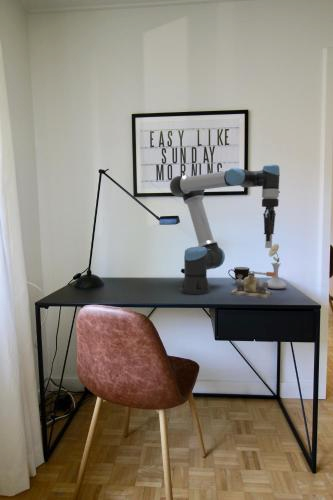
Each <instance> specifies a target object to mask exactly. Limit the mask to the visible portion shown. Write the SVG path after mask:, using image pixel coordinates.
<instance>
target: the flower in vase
mask: <svg viewBox="0 0 333 500" xmlns="http://www.w3.org/2000/svg"><path fill="white" fill-rule="evenodd" d="M279 248H280V245H279V244H278V243H274V244H272V248H269V251H268V256H269V257H273V260H274V261H275V262H271V265H272V269H273V272H275V273H276V276H275V277H271V278H269V279H268V280H267V281H266V282H268V289H275V290H281V289H285V288H286V287H287V284H286V283H285V282H284V280H282V279H281V278H280V277H279V268H280V266H281V263H280V257H279V254H278V251H279ZM275 255H276V257H275Z"/></svg>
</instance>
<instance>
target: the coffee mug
mask: <svg viewBox="0 0 333 500" xmlns="http://www.w3.org/2000/svg"><path fill="white" fill-rule="evenodd" d="M230 271H232V272H233V273H234V276H232V275H231V274H230ZM249 271H250V267H248V266H247V267H246V266H236V267H234V269H233V268H231V269H229V270H228V273H227V274H228V275H229V276H230V278H232V279H233V280H234V281H236V279H240V280H244V278H246V277H249Z"/></svg>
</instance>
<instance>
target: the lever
mask: <svg viewBox="0 0 333 500" xmlns="http://www.w3.org/2000/svg"><path fill="white" fill-rule="evenodd" d="M249 274H255V275H262V276H263V275H264V276H266V277H271V278H272V277H275V276H276V273H275V272H274V271H267V272H260V271H259V272H258V271H253V270H249Z"/></svg>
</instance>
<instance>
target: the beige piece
mask: <svg viewBox="0 0 333 500" xmlns="http://www.w3.org/2000/svg"><path fill="white" fill-rule="evenodd" d="M255 275H256V274H249V276H248V277H246V278H244V280H240V279H236V281H235V280H234V281H235V284H234V285H235V286H236V288H235V289H233V290H231V291H230V294H231V295H238V296H239V295H240V296H247V297H254V298H263V299H268V298H269V297H270V296H271V295H273V294H272V293H273V292H272V291H269V290H268V289H269V288H268V282H267V281H260V277H255Z"/></svg>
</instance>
